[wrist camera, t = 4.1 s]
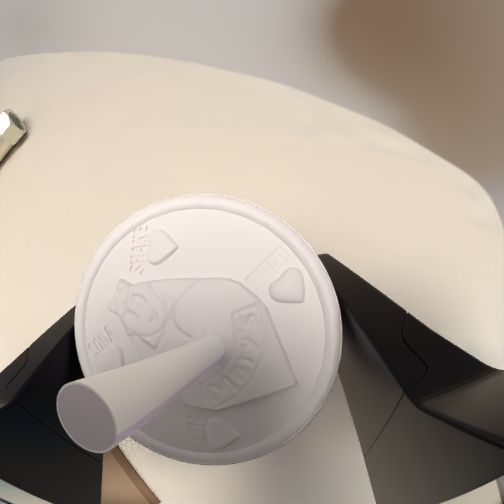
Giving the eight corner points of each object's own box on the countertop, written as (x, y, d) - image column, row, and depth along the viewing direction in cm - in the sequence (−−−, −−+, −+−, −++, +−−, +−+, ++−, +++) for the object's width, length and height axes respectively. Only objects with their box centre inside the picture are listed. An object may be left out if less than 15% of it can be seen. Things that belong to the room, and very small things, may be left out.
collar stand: (159, 502, 13) (140, 529, 10) (58, 512, 13) (37, 527, 10) (61, 337, 16) (25, 339, 13) (-13, 388, 16) (-39, 392, 12)
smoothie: (273, 396, 14) (249, 645, 1) (167, 346, 15) (-83, 400, 2) (322, 288, 15) (535, 168, 2) (213, 241, 16) (34, 41, 3)
